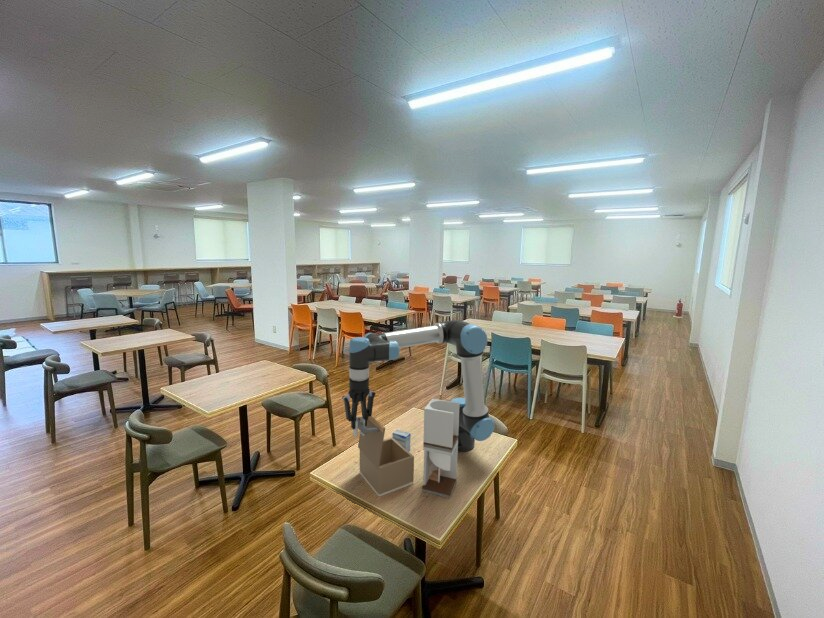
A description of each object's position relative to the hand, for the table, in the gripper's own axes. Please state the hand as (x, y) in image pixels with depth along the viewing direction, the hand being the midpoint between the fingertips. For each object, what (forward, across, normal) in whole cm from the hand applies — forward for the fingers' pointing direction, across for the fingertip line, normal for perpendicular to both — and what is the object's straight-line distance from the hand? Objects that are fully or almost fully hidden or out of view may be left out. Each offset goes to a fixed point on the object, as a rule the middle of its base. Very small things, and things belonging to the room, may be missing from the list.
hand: (359, 434), depth 142 cm
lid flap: (+3, -6, 0) cm, 6 cm away
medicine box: (+23, -29, -16) cm, 41 cm away
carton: (+23, -12, 0) cm, 26 cm away
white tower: (+23, -28, +16) cm, 40 cm away
